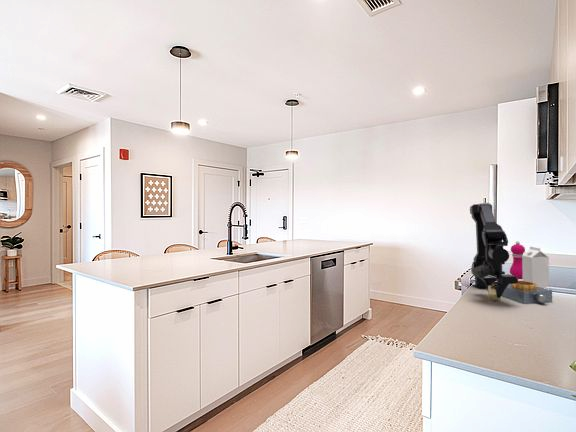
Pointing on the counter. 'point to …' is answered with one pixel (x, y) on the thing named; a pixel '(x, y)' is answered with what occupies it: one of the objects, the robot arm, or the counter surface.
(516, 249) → the pepper mill
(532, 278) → the milk carton
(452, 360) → the counter surface
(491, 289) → the beige cylinder
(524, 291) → the gearbox
